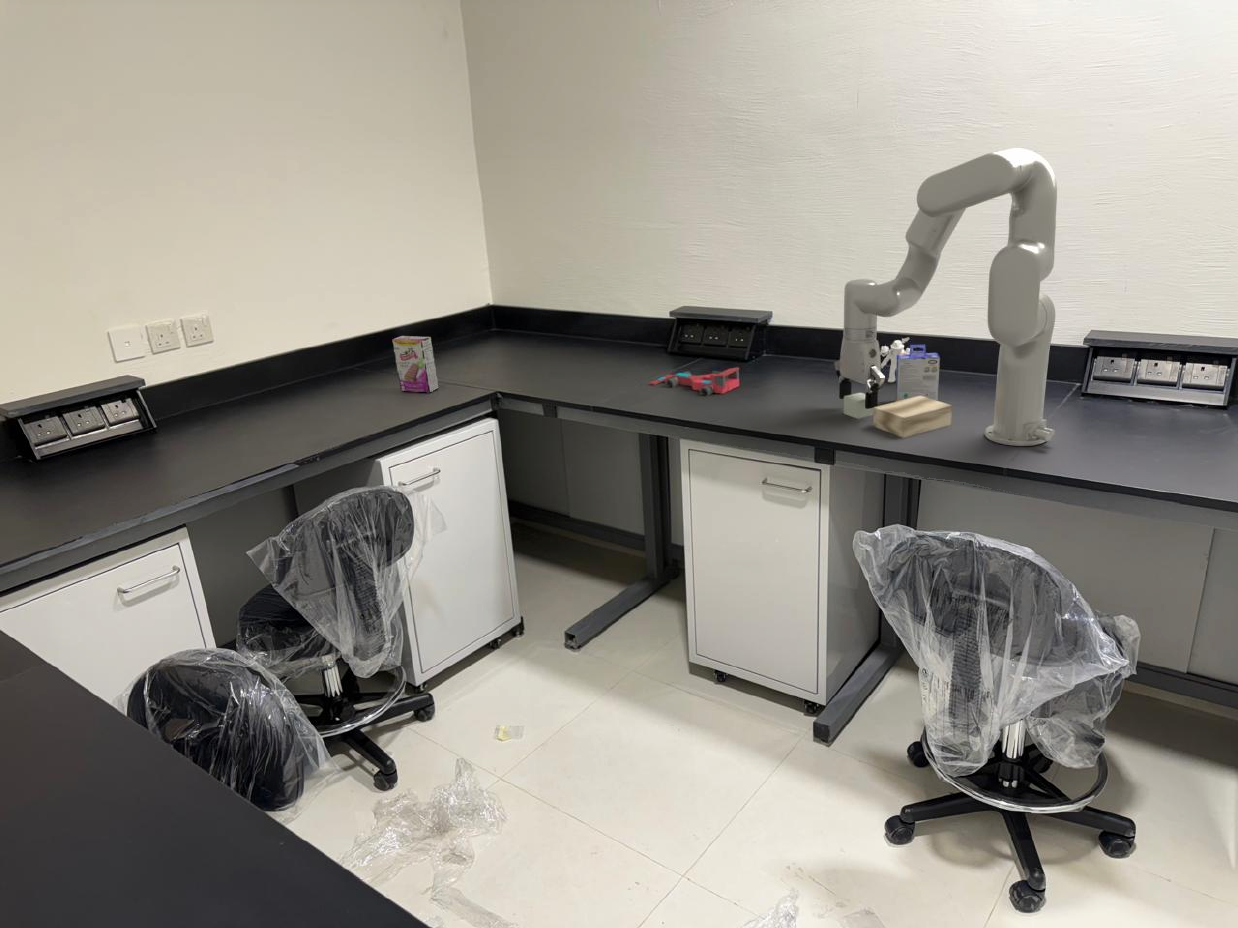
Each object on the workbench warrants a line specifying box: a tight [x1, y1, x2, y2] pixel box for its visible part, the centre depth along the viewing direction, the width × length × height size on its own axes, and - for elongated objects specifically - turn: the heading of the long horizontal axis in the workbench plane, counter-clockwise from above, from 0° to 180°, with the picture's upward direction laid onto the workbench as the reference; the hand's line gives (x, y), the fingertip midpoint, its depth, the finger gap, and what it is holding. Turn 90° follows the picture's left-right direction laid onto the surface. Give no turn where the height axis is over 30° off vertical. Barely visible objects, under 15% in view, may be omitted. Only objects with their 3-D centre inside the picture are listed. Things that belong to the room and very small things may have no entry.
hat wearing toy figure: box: [880, 336, 914, 383], centre depth 234 cm, size 9×4×12 cm, turn 54°
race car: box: [648, 367, 740, 397], centre depth 247 cm, size 14×6×25 cm
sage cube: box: [843, 392, 874, 420], centre depth 212 cm, size 5×5×4 cm
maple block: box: [872, 396, 953, 438], centre depth 202 cm, size 10×14×5 cm
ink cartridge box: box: [894, 344, 941, 402], centre depth 215 cm, size 10×6×14 cm, turn 78°
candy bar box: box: [391, 335, 440, 392], centre depth 263 cm, size 11×5×16 cm, turn 65°
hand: (857, 402), depth 212 cm, fingers open, 9 cm apart
